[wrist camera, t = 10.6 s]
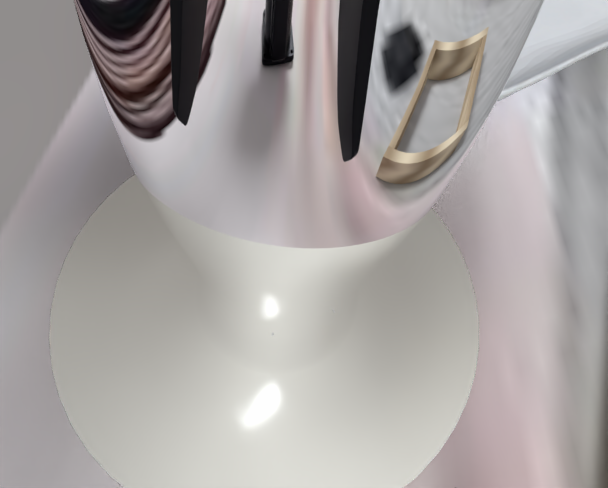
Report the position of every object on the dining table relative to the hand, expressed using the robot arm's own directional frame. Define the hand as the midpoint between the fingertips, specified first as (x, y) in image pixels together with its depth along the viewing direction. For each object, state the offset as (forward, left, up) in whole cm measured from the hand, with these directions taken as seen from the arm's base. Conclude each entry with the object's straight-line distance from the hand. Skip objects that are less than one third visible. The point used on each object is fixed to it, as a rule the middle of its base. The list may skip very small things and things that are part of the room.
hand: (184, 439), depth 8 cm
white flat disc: (+6, +1, -9) cm, 11 cm away
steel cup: (+6, +1, -8) cm, 10 cm away
